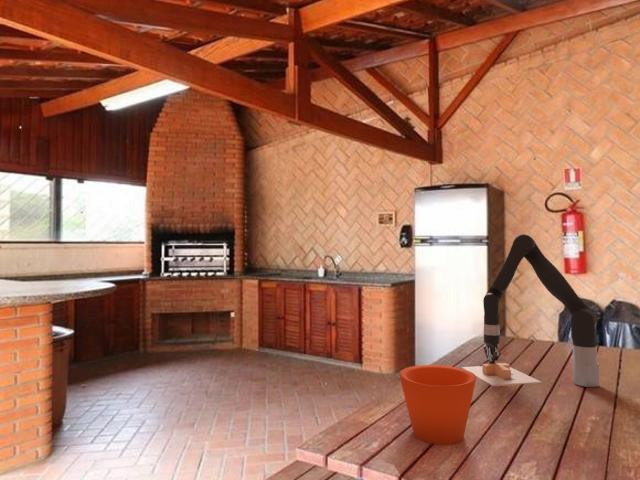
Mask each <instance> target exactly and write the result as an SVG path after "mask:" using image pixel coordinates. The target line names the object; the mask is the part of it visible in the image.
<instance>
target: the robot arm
mask: <svg viewBox="0 0 640 480" xmlns="http://www.w3.org/2000/svg"><path fill="white" fill-rule="evenodd" d="M524 258H525V260H526V261H527V262H528V264H529V265H530V266H531V267H532V268H533V271H534V272H535V274H536V276H537V278H538V279H539V281H540V282H541V283H542V285H543V287H545V289H546V290H547V291H548V292H549V293H550V294H551V296H553V297H554V298H555V299H556V300H558V301H559V302H561V304H563V306H564V307H565V308H566V309H567V311H568V312H569V314H570V315H571V317H570V335H571V340H572V367H573V369H572V370H573V371H572V372H573V384H575V385H577V386H581V387H584V388H585V387H586V388H596V387H597V388H599V387H600V370H599V369H600V368H599V364H598V360H597V359H598V352H597V348H598V345H597V339H596V329H595V327H596V325H597V322H598V321H597V320H598V318H597V315H596V314H595V312H594V311H593V310H592V309H591V308H590V307H589V306H588V305H587V304H586V303H585V302H584V301H583V300H582V299H581V298H580V296H579V295H577V293H576V291H575V290H574V288H573V287H572V286H571V284H570V283H569V282H568V280H567V279H566V278H565V276H564V275H563V274H562V273H561V272H560V270H558V268H557V267H556V266H555V265H554V264H553V263H552V262H551V261H550V260H549V259H548V258H547V257H546V256H545V255H544V253H543V252H542V251H541V249H540V248H539V246H538V244H537V243H536V241H535V239H534V238H533V237H531V236H530V235H528V234H524V233H523V234H519V235H517V236H516V237H514V239H513V242H512V244H511V246H510V250H509V253H508V255H507V256H506V259H505V261H504V263H503V264H502V266H501V268H500V270H499V271H498V273H497V274H496V276H495V277H494V279H493V281H492V283H491V286H490V288H489V289H488V290H487V292H486V293H485V295H484V296H483V301H482V302H483V313H484V314H483V343H484V344H485V346H483V350H484V354H485V357H486V359H488V364H495V363H496V361H497V362H498V360H499V358H500V356H501V354H502V353H501V351H499V347H498V345H499V344H500V343H501V333H500V332H501V331H500V330H501V329H500V316H499V315H500V314H499V303H500V300H501V298H502V296H503V295H504V292H506V290H507V289H508V287H509V285H510V284H511V282H512V280H513V278H514V277H515V275H516V271H517V269H518V267H519V265H520V263H521V262H522V260H523V259H524Z"/></svg>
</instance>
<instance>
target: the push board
mask: <svg viewBox="0 0 640 480" xmlns="http://www.w3.org/2000/svg"><path fill="white" fill-rule="evenodd" d="M461 369H464V370H467V371H470V372H472V373H473V374H475V375H476V378H479V379H481V380H482V381H484V382H485V383H487V384H489V387H497V386H498V387H499V386H516V385H517V386H518V385H529V384H530V385H531V384H534V383H535V384H542V381H541V380H539V379H536V378H535V377H532V376H530V375H527V374H526V373H524V372H521V371H519V370H517V369H515V368H513V367H511V366H510V370H511V379H502V378H500V377H498V376H497V375H495V374H489V375H486V374H484V373H483V372H482V365H478V366H476V365H475V366H461Z"/></svg>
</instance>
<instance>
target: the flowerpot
mask: <svg viewBox="0 0 640 480" xmlns="http://www.w3.org/2000/svg"><path fill="white" fill-rule="evenodd" d="M398 375H399V379H400V384H401V387H402V392H403V395H404V400H405V404H406V409H407V412H408V416H409V420H410V425H411V427H412V431H413V435H414V437H415V438H417V439H418V440H420V441H422V442H424V443H428V444H431V445H437V446H448V445H449V446H450V445H455V444H458V443H460V442H462V441H463V440H464V437H465V432H466V429H467V428H466V427H467V423H468V418H469V415H470V409H471V404H472V400H473V395H474V392H475V390H474V389H475V386H476V381H477V376H476V375H475V374H473V373H472V372H470V371H467V370H465V369H464V368H462V367H461V368H460V367H454V366H449V365H440V364H439V365H438V364H422V365H413V366H408V367H405V368H403V369H401V370H400V371H399V374H398Z"/></svg>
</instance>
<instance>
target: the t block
mask: <svg viewBox="0 0 640 480" xmlns="http://www.w3.org/2000/svg"><path fill="white" fill-rule="evenodd" d="M481 366H482V372H483V373H484V374H486V375H489V374H495V375H497V376H498V377H500V378H502V379H511V370H510V367H511V365H510V364H509V363H506V362H499V363H497V362H495V364H489V363H482V365H481Z"/></svg>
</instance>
